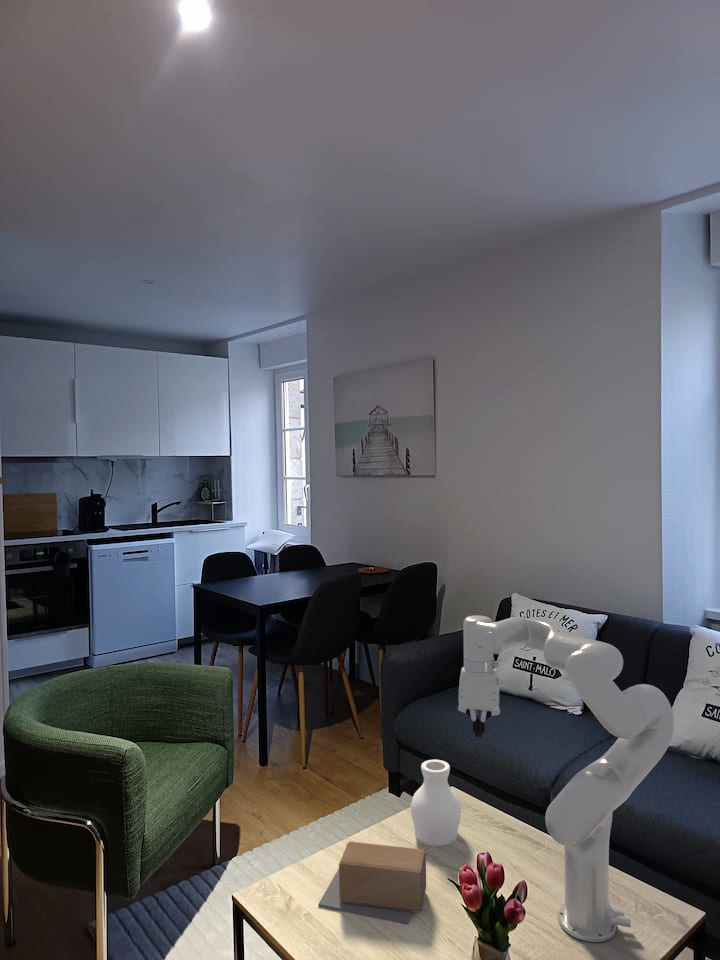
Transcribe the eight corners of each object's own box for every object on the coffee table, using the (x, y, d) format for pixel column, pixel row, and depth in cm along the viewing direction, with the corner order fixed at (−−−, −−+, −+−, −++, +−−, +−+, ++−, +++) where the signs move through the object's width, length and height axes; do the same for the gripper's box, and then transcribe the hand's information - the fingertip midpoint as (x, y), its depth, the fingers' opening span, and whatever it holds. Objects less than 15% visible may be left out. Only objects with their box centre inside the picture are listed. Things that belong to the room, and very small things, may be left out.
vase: (402, 827, 195) (401, 759, 194) (446, 817, 200) (445, 750, 199) (425, 854, 182) (424, 781, 181) (471, 842, 187) (470, 771, 186)
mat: (424, 877, 172) (424, 875, 171) (408, 924, 154) (407, 922, 154) (343, 862, 178) (343, 860, 178) (318, 906, 161) (318, 904, 161)
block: (421, 872, 156) (337, 862, 161) (421, 914, 157) (338, 903, 161) (426, 847, 166) (347, 839, 170) (426, 887, 167) (348, 878, 171)
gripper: (509, 662, 175) (510, 732, 175) (452, 658, 179) (452, 726, 180) (506, 671, 167) (507, 744, 168) (447, 666, 172) (447, 737, 173)
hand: (479, 734), depth 174 cm, fingers closed
